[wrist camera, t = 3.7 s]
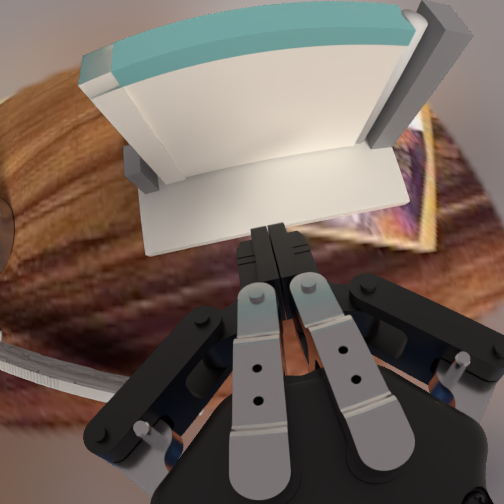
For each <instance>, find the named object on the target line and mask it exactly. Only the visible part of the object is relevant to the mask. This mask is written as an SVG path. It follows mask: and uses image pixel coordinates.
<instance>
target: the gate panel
mask: <svg viewBox="0 0 504 504" xmlns="http://www.w3.org/2000/svg"><path fill="white" fill-rule="evenodd" d="M427 25H428V23H427V21H426V19H425V18H424V17H423V16H422V15H420V14H419V13H417V12H415V11H412V10H406V9H405V10H402V11H401V9H400V8H399V7H398V6H397V5H392V4H381V3H367V2H342V1H339V2H338V1H336V2H335V1H323V2H298V3H285V4H284V3H283V4H273V5H264V6H256V7H249V8H243V9H236V10H230V11H224V12H219V13H214V14H209V15H205V16H200V17H195V18H192V19H187V20H183V21H179V22H175V23H172V24H168V25H165V26H161V27H158V28H155V29H152V30H148V31H146V32H142V33H139V34H136V35H134V36H131V37H128V38H125V39H122V40H120V41H117V42H115V43H112V44H110V45H107V46H105V47H102V48H100V49H97V50H95V51H93V52H91V53H88V54H86V55H84V56H83V58H82V64H81V70H80V76H79V83H78V86H79V87H80V88H81V90H82V91H83V92H84V93H85V94H86V95H87V96H88V98H89V99H90V100H91V101H92V102H93V103H94V104H95V106H96V107H97V108H98V109H99V110H100V111H101V112H102V114H103V115H104V116H105V117H106V118H107V119H108V120H109V121H110V123H111V124H112V125H113V126H114V127H115V128H116V129H117V131H118V132H119V133H120V134H121V135H122V136H123V137H124V138H125V140H126V141H127V142H128V143H129V144H130V145H131V146H132V147H133V148H134V150H135V151H136V152H137V153H138V154H139V155H140V156H141V157H142V159H143V160H144V161H145V162H146V163H147V164H148V165H149V166H150V167H151V169H152V170H153V171H154V172H155V173H156V174H157V175H158V176H159V177H160V178H161V180H162V181H163V182H164V183H165V184H166V185H167V184H171V183H175V182H179V181H183V180H186V177H189V176H193V175H198V174H202V173H206V172H210V171H215V170H219V169H224V168H228V167H233V166H238V165H242V164H247V163H252V162H257V161H262V160H268V159H273V158H278V157H284V156H290V155H295V154H301V153H307V152H314V151H320V150H327V149H333V148H340V147H348V146H354V144H361V143H362V142H363V141H364V140H365V138H366V136H367V134H368V133H369V131H370V129H371V128H372V126H373V124H374V122H375V121H376V119H377V117H378V115H379V114H380V112H381V110H382V108H383V107H384V105H385V103H386V101H387V99H388V98H389V96H390V94H391V92H392V91H393V89H394V87H395V85H396V83H397V82H398V80H399V78H400V76H401V74H402V72H403V71H404V69H405V67H406V65H407V63H408V61H409V60H410V58H411V56H412V54H413V52H414V50H415V48H416V46H417V45H418V43H419V41H420V39H421V37H422V35H423V33H424V31H425V29H426V27H427Z"/></svg>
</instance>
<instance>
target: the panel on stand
mask: <svg viewBox="0 0 504 504" xmlns="http://www.w3.org/2000/svg"><path fill="white" fill-rule="evenodd" d="M417 13H419V14H420V15H422V16H423V17H424V18H425V19H426V21H427V23H428V25H427V27H426V29H425V31H424V33H423V35H422V37H421V39H420V41H419V43H418V45H417V46H416V48H415V50H414V52H413V54H412V56H411V58H410V60H409V61H408V63H407V65H406V67H405V69H404V71H403V72H402V74H401V76H400V78H399V80H398V82H397V83H396V85H395V87H394V89H393V91H392V92H391V94H390V96H389V98H388V99H387V101H386V103H385V105H384V107H383V108H382V110H381V112H380V114H379V115H378V117H377V119H376V121H375V122H374V124H373V126H372V128H371V129H370V131H369V133H368V134H367V136H366V138H365V140H364V141H363V142H362V143H361V144H354V146H348V147H340V148H333V149H327V150H320V151H314V152H307V153H301V154H295V155H290V156H284V157H278V158H273V159H268V160H262V161H257V162H252V163H247V164H242V165H238V166H233V167H228V168H224V169H219V170H215V171H210V172H206V173H202V174H198V175H193V176H189V177H186V180H183V181H179V182H175V183H171V184H167V185H166V184H165V183H164V182H163V181H162V180H161V178H160V177H159V176H158V175H157V174H156V173H155V172H154V171H153V170H152V169H151V167H150V166H149V165H148V164H147V163H146V162H145V161H144V160H143V159H142V157H141V156H140V155H139V154H138V153H137V152H136V151H135V150H134V148H133V147H132V146H131V145H127V146H124V147H123V154H124V174H125V177H126V178H127V179H128V180H129V181H130V182H132V183H133V184H134V185H135V186H136V187H137V188H138V195H139V205H140V215H141V224H142V232H143V240H144V248H145V255H147V256H155V255H160V254H164V253H169V252H173V251H178V250H182V249H187V248H192V247H196V246H201V245H206V244H210V243H215V242H220V241H224V240H229V239H234V238H239V237H243V236H248V235H251V231H250V229H252V228H257V227H262V226H266V227H267V225H271V224H277V223H282V222H283V223H284V225H285V228H287V227H292V226H297V225H302V224H307V223H312V222H317V221H322V220H327V219H332V218H337V217H343V216H348V215H353V214H358V213H363V212H368V211H374V210H379V209H384V208H390V207H395V206H400V205H405V204H407V203H408V202H409V201H410V200H409V197H408V193H407V190H406V187H405V184H404V181H403V178H402V175H401V172H400V169H399V166H398V163H397V160H396V157H395V155H394V152H393V149H392V146H393V145H394V144H395V142H396V141H397V140H398V138H399V137H400V136H401V135H402V133H403V132H404V131H405V129H406V128H407V127H408V125H409V124H410V123H411V122H412V120H413V119H414V118H415V116H416V115H417V114H418V112H419V111H420V110H421V108H422V107H423V106H424V104H425V103H426V102H427V100H428V99H429V98H430V96H431V95H432V94H433V92H434V91H435V90H436V88H437V87H438V85H439V84H440V83H441V81H442V80H443V79H444V77H445V76H446V74H447V73H448V72H449V70H450V69H451V67H452V66H453V65H454V63H455V62H456V60H457V59H458V58H459V56H460V55H461V53H462V52H463V50H464V49H465V48H466V46H467V45H468V43H469V42H470V40H471V39H472V37H473V36H474V35H473V34H472V33H471V31H470V30H469V29H468V27H467V26H466V25H465V24H464V22H463V21H462V20H461V18H460V17H459V16H458V15H457V13H456V12H455V11H454V10H453V9H452V7H451V6H449V5H445V4H440V3H436V2H431V1H426V0H422V1H421V3H420V5H419V7H418V9H417ZM267 231H268V227H267Z"/></svg>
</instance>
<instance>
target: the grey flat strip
mask: <svg viewBox="0 0 504 504" xmlns="http://www.w3.org/2000/svg"><path fill="white" fill-rule="evenodd" d="M0 370H2V371H5V372H7V373H10V374H13V375H15V376H18V377H21V378H24V379H26V380H29V381H32V382H35V383H38V384H41V385H44V386H47V387H50V388H54V389H57V390H60V391H64V392H67V393H71V394H75V395H78V396H82V397H86V398H90V399H94V400H98V401H102V402H108V401H109V400H110V399H111V398H112V397H113V396H114V395H115V393H116V392H117V391H118V390H119V389H120V388H121V387H122V386H123V385H124V384H125V382H126V381H127V380H128V379H129V378H130V377H128V376H123V375H118V374H113V373H108V372H103V371H99V370H95V369H93V368H89V367H85V366H81V365H77V364H73V363H69V362H65V361H61V360H57V359H54V358H50V357H47V356H43V355H40V354H39V353H36V352H32V351H29V350H26V349H23V348H20V347H17V346H15V345H14V346H13V345H10V344H7V343H4V342H2V331H1V330H0ZM203 410H204V408H203ZM203 410H202V411H201V412H200V414H199V415H202V413H203Z"/></svg>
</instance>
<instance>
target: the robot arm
mask: <svg viewBox="0 0 504 504" xmlns="http://www.w3.org/2000/svg"><path fill="white" fill-rule="evenodd" d="M267 227H268V231H267ZM267 227H266V226H262V227H257V228H252V229H250V231H251V237H252V240H249V241H244V242H240V244H239V246H238V248H237V258H238V268H239V278H240V288H241V291H240V293H239V295H238V299H237V300H236V301H235V302H234V303H233V304H232V305H230V306H228V307H226V308H224V309H222V310H220V311H218V310H217V309H216V308H214V307H211V306H201V307H198V308H195V309H194V310H192V311H191V312H189V313H188V314H187V316H186V317H185V318H184V319H183V320H182V321H181V322H180V323H179V324H178V325H177V326H176V328H175V329H174V330H173V331H172V332H171V333H170V334H169V335H168V336H167V337H166V339H165V340H164V341H163V342H162V343H161V344H160V345H159V346H158V347H157V348H156V349H155V351H154V352H153V353H152V354H151V355H150V356H149V357H148V358H147V359H146V360H145V362H144V363H143V364H142V365H141V366H140V367H139V368H138V369H137V370H136V371H135V373H134V374H133V375H132V376H131V377H130V378H129V379H128V380H127V381H126V382H125V384H124V385H123V386H122V387H121V388H120V389H119V390H118V391H117V392H116V393H115V395H114V396H113V397H112V398H111V399H110V400H109V401H108V402H107V403H106V404H105V406H104V407H103V408H102V409H101V410H100V411H99V412H98V413H97V414H96V416H95V417H94V418H93V419H92V420H91V421H90V422H89V423H88V425H87V426H86V428H85V430H84V434H83V440H84V444H85V446H86V447H87V449H88V450H89V451H90V452H92V453H94V454H95V455H97V456H99V457H101V458H102V459H103V460H104V461H106V462H108V463H109V464H111V465H113V466H115V467H117V468H118V469H119V470H120V471H121V472H123V473H124V474H125V475H126V476H127V477H128V478H129V479H130V480H131V481H132V482H134V483H135V484H136V485H137V486H138V487H139V488H140V489H142V490H143V491H144V492H145V493H146V494H148V495H149V496H150V497H151V498H152V499H151V503H150V504H494V503H493V502H492V500H491V498H490V496H489V494H488V492H487V488H486V479H485V475H486V472H485V471H486V461H487V454H488V443H487V438H486V435H485V432H484V430H483V429H482V427H481V426H480V422H481V419H482V417H483V415H484V413H485V410H486V408H487V405H488V403H489V401H490V398H491V396H492V393H493V390H494V388H495V385H496V383H497V382H498V381H499V380H500V378H501V377H502V376H503V375H504V335H502V334H500V333H498V332H496V331H494V330H492V329H490V328H488V327H486V326H484V325H482V324H480V323H478V322H476V321H474V320H472V319H470V318H467V317H465V316H463V315H461V314H459V313H457V312H455V311H453V310H451V309H449V308H446V307H444V306H442V305H440V304H438V303H436V302H434V301H431V300H429V299H427V298H425V297H423V296H421V295H418V294H416V293H414V292H412V291H410V290H408V289H405V288H403V287H401V286H399V285H397V284H394V283H392V282H390V281H388V280H386V279H383V278H381V277H379V276H376V275H373V274H361V275H358V276H356V277H354V278H353V279H352V280H351V282H350V284H335V283H331V282H329V281H327V280H326V279H325V278H324V277H323V276H322V275H320V273H319V271H318V268H317V266H316V263H315V261H314V258H313V256H312V254H311V251H310V249H309V246H308V244H307V241H306V239H305V237H304V236H303V235H302V234H301V233H299V232H298V231H294V232H289V233H287V231H286V228H285V225H284V223H283V222H282V223H277V224H271V225H267ZM268 233H269V235H268ZM13 238H14V220H13V215H12V211H11V209H10V206H9V205H8V204H7V202H6V201H4V200H3V199H1V198H0V273H1V272H2V271H3V269H4V267H5V266H6V264H7V261H8V259H9V256H10V253H11V249H12V244H13ZM283 303H284V304H283ZM284 307H285V311H286V315H287V320H288V319H293V321H294V325H295V333H296V337H297V339H298V342H299V345H300V348H301V351H302V354H303V357H304V360H305V362H306V365H307V368H308V372H309V373H307V374H305V375H302V376H287V369H286V360H285V350H284V341H283V324H282V321H284V320H286V318H285V311H284ZM371 354H372V355H374V356H376V357H377V358H379V359H381V360H383V361H385V362H386V363H388V364H390V365H392V366H394V367H395V368H397V369H399V370H401V371H403V372H405V373H407V374H408V375H410V376H412V377H414V378H416V379H418V380H419V381H421V382H423V383H425V384H427V385H428V387H429V392H430V393H428V392H427V391H425V390H423V389H422V388H420V387H418V386H416V385H415V384H413V383H411V382H410V381H408V380H406V379H405V378H403V377H401V376H400V375H398V374H396V373H395V372H393V371H391V370H390V369H387V368H385V367H383V366H380V365H376V363H375V361H374V359H373V357H372V355H371ZM232 371H233V393H232V394H231V395H229V396H228V397H227V398H225V399H224V400H223V401H222V402H221V403H220V404H219V405H218V406H217V408H216V409H215V410H214V412H213V413H212V414H211V416H210V417H209V419H208V420H207V421H206V423H205V424H204V426H203V427H202V429H201V430H200V431H199V433H198V434H197V435H196V437H195V438H194V440H193V441H192V442H191V443H190V445H189V446H188V448H187V449H186V450H185V452H184V453H183V454H182V452H183V448H184V447H183V445H184V444H183V441H182V438H181V436H182V435H183V434H184V432H185V431H186V430H187V429H188V427H189V426H190V425H191V424H192V422H193V421H194V420H195V419H196V417H197V416H198V415H199V414H200V412H201V411H202V410H203V408H204V407H205V406H206V405H207V403H208V402H209V401H210V399H211V398H212V397H213V396H214V394H215V393H216V392H217V390H218V389H219V388H220V387H221V385H222V384H223V383H224V381H225V380H226V379H227V377H228V376H229V375H230V373H231V372H232ZM181 454H182V455H181ZM180 456H181V457H180Z"/></svg>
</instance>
